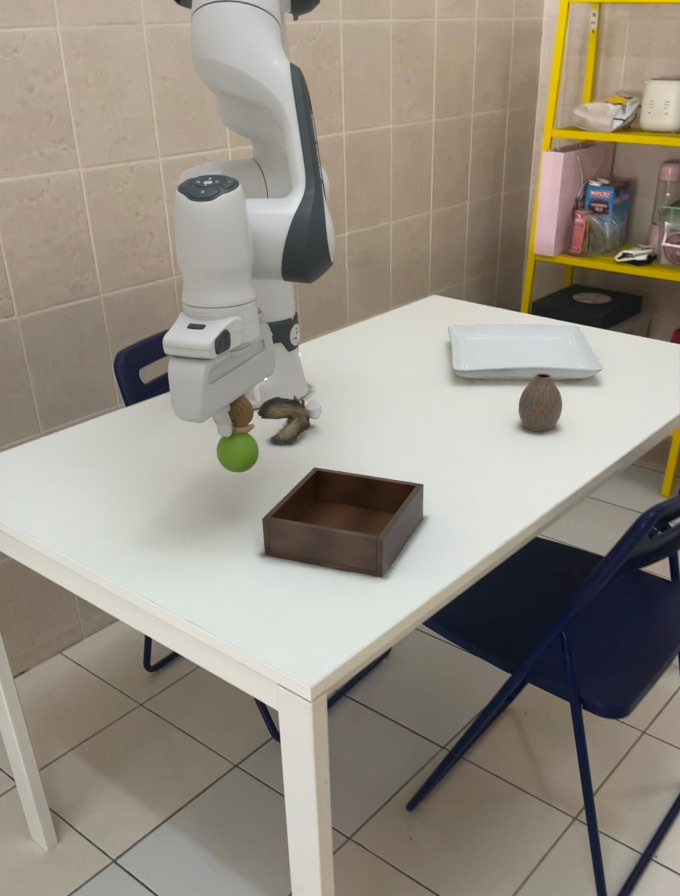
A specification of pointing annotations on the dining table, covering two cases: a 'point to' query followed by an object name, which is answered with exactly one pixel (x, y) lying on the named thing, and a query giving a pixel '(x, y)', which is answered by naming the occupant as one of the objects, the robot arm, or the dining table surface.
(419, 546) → the dining table surface
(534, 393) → the vase
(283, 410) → the eagle figurine
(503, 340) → the square plate
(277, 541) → the crate
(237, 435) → the snail figurine
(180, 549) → the dining table surface
